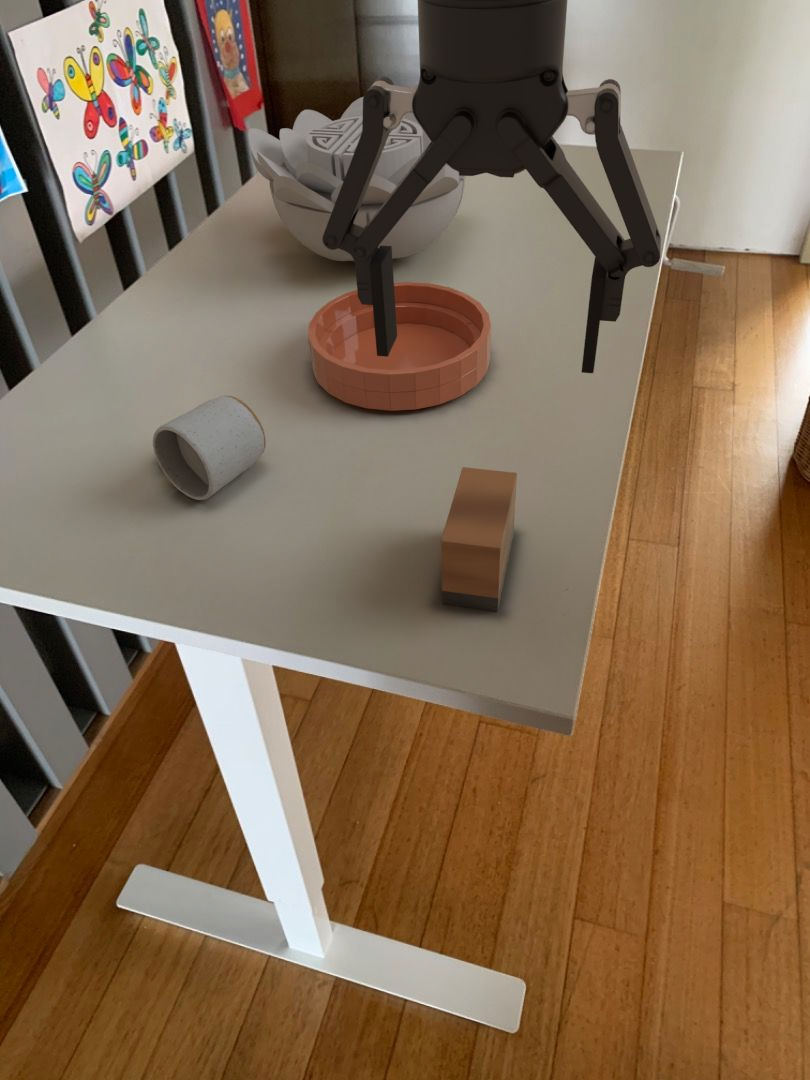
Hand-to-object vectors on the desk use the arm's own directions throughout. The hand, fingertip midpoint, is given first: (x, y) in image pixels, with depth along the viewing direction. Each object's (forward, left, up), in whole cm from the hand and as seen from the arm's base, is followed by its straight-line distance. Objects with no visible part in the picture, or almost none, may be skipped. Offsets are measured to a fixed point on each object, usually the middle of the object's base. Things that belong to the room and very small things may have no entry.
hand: (485, 354), depth 56 cm
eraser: (0, 0, -20) cm, 20 cm away
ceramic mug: (+28, -8, -21) cm, 36 cm away
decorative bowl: (+26, -59, -21) cm, 68 cm away
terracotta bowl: (+14, -30, -20) cm, 39 cm away
